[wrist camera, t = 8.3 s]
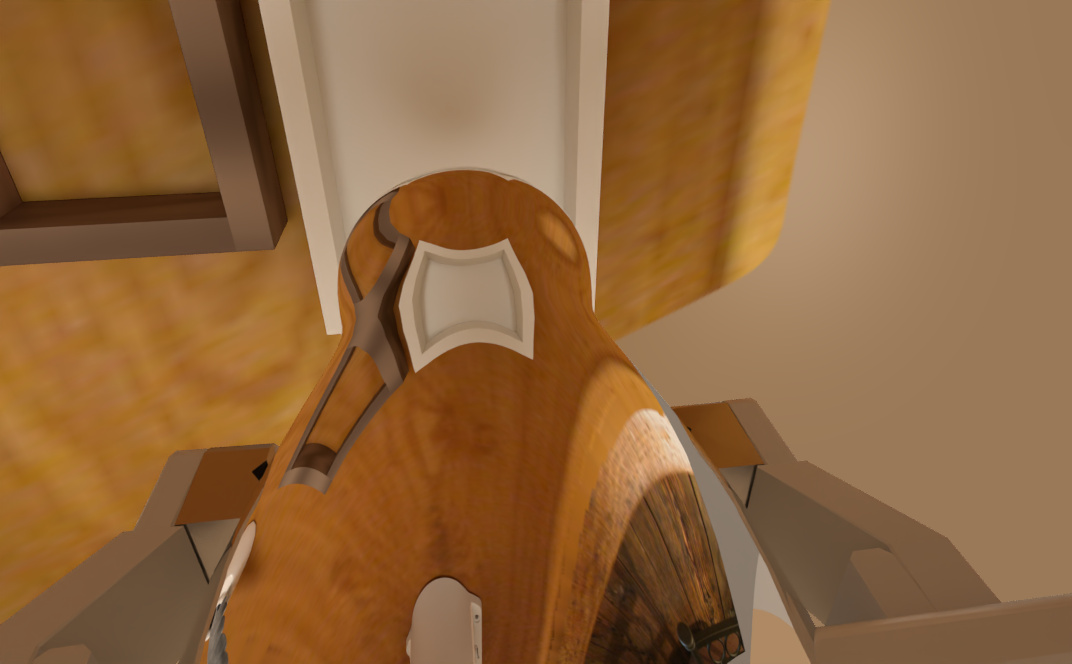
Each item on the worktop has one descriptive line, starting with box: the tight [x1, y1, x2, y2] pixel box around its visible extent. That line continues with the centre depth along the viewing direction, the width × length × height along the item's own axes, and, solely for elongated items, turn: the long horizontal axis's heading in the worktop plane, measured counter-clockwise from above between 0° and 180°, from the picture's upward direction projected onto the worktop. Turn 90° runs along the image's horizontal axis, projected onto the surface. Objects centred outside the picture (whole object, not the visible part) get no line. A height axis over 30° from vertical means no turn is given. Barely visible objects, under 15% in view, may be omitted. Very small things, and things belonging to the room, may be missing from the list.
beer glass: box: [178, 167, 833, 664], centre depth 10 cm, size 7×7×15 cm
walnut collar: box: [0, 0, 287, 266], centre depth 25 cm, size 12×12×3 cm
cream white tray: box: [258, 0, 610, 335], centre depth 27 cm, size 16×12×4 cm
